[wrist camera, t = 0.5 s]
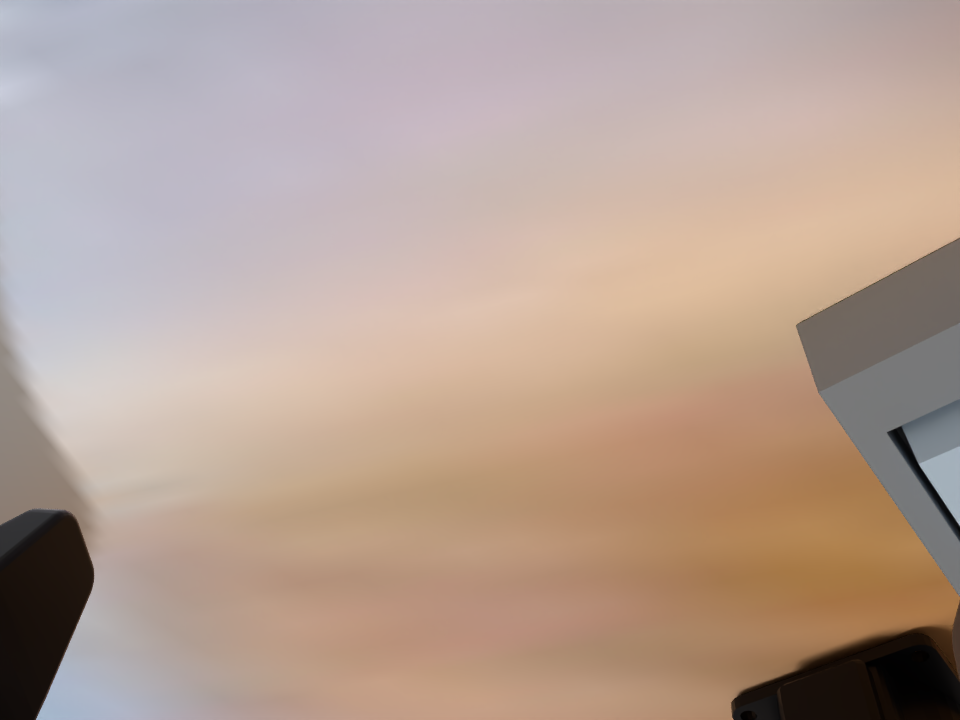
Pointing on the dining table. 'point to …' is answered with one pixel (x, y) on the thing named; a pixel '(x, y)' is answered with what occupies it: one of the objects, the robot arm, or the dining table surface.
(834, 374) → the button panel
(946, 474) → the slate blue button
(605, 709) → the dining table surface
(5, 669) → the robot arm
